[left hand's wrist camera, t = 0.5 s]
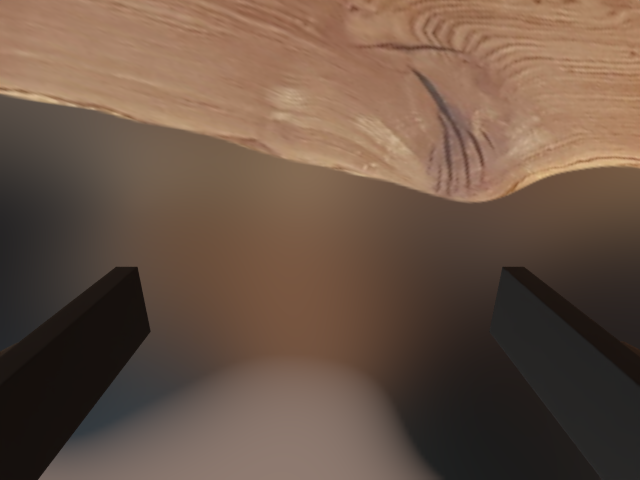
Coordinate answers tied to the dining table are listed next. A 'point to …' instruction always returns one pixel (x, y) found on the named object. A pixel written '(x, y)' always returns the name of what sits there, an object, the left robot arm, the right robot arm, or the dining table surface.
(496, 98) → the dining table surface
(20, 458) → the left robot arm
